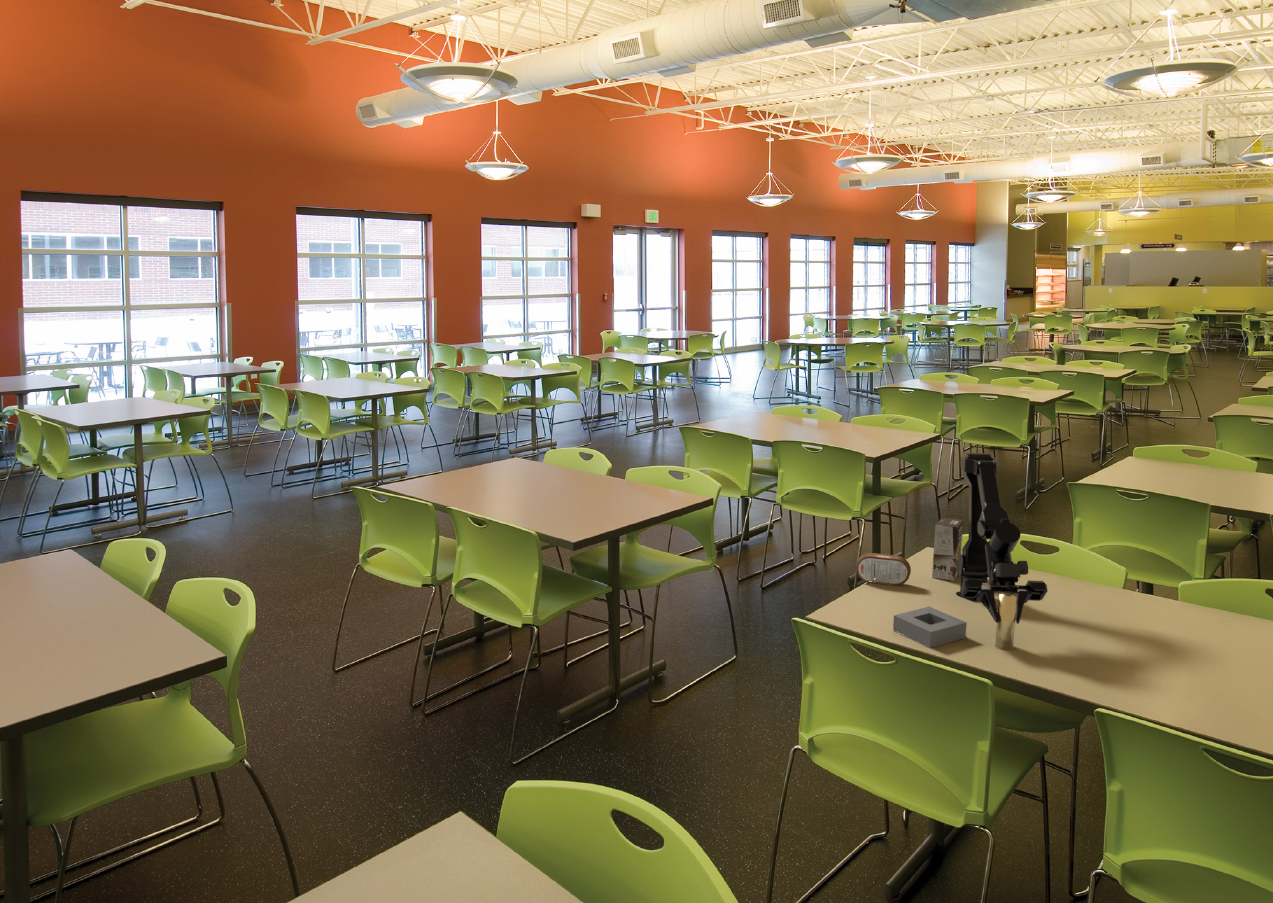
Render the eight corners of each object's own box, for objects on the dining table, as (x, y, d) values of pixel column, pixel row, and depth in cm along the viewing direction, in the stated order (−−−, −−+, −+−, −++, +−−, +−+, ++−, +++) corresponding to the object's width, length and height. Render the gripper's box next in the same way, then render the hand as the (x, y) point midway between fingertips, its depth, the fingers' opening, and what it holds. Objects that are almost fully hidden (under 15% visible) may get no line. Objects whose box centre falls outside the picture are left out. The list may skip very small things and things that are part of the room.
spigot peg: (991, 645, 217) (995, 593, 215) (1002, 641, 219) (1007, 590, 217) (1005, 651, 214) (1009, 598, 211) (1016, 647, 216) (1021, 595, 213)
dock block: (893, 630, 226) (893, 615, 226) (928, 621, 232) (929, 606, 231) (929, 647, 216) (930, 632, 215) (965, 637, 222) (966, 622, 221)
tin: (910, 584, 259) (911, 555, 257) (909, 587, 256) (911, 559, 254) (855, 578, 264) (857, 550, 262) (854, 582, 261) (856, 554, 259)
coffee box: (954, 581, 261) (957, 527, 258) (931, 577, 264) (934, 524, 261) (960, 572, 269) (964, 519, 265) (938, 568, 272) (941, 516, 268)
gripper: (966, 545, 217) (973, 606, 209) (1048, 548, 215) (1059, 610, 206) (957, 566, 226) (963, 625, 218) (1036, 569, 224) (1045, 629, 215)
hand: (1007, 622), depth 214 cm, fingers open, 4 cm apart
